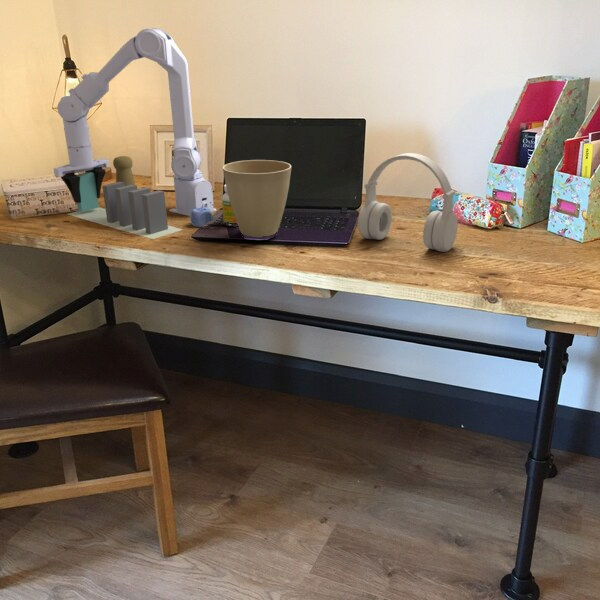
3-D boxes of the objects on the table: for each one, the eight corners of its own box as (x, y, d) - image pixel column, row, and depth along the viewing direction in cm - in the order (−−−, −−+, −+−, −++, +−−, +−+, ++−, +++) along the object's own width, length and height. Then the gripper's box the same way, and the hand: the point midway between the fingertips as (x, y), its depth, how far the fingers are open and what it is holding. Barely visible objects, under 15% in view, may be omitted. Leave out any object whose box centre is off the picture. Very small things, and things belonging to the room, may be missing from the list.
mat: (183, 230, 154) (183, 229, 154) (152, 240, 148) (152, 239, 148) (97, 207, 175) (97, 206, 175) (66, 215, 169) (66, 214, 168)
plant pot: (279, 249, 140) (277, 175, 134) (215, 243, 145) (210, 171, 139) (301, 229, 153) (300, 160, 147) (243, 224, 158) (239, 157, 152)
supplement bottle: (220, 227, 156) (217, 187, 152) (228, 221, 161) (225, 181, 157) (242, 229, 155) (240, 188, 151) (249, 222, 160) (247, 182, 156)
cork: (131, 192, 190) (127, 153, 186) (141, 196, 186) (137, 156, 181) (112, 195, 186) (107, 156, 182) (121, 199, 182) (116, 159, 178)
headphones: (355, 242, 144) (357, 153, 137) (373, 232, 151) (376, 146, 143) (442, 257, 134) (448, 162, 127) (457, 246, 141) (464, 155, 133)
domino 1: (99, 207, 171) (93, 172, 167) (82, 211, 167) (76, 176, 164) (94, 206, 172) (89, 172, 168) (78, 210, 168) (72, 175, 165)
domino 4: (154, 225, 158) (150, 188, 154) (137, 230, 154) (132, 192, 151) (149, 224, 159) (145, 187, 155) (132, 229, 155) (128, 191, 152)
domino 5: (168, 229, 155) (164, 191, 151) (150, 234, 151) (146, 195, 148) (163, 227, 156) (159, 190, 152) (146, 233, 152) (141, 194, 149)
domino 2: (128, 218, 164) (124, 182, 160) (111, 223, 160) (106, 186, 157) (124, 217, 165) (119, 181, 161) (107, 222, 161) (102, 185, 158)
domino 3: (141, 221, 161) (137, 185, 157) (124, 226, 157) (119, 189, 154) (136, 220, 162) (132, 184, 158) (119, 225, 158) (114, 188, 155)
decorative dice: (199, 229, 155) (198, 212, 154) (190, 225, 158) (189, 209, 157) (214, 226, 158) (212, 209, 156) (205, 222, 161) (203, 206, 159)
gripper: (94, 140, 171) (102, 191, 176) (43, 148, 161) (53, 203, 166) (111, 142, 167) (118, 195, 172) (59, 151, 156) (68, 207, 162)
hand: (87, 199), depth 169 cm, fingers closed on domino 1, 5 cm apart
